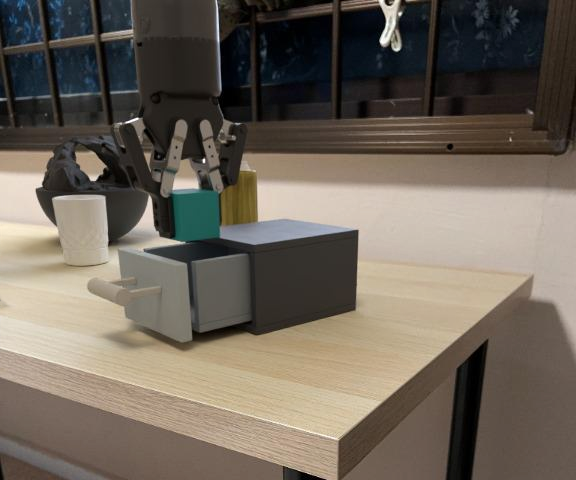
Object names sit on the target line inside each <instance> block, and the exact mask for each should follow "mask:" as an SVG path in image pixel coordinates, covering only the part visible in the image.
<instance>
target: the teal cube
mask: <svg viewBox="0 0 576 480" xmlns="http://www.w3.org/2000/svg"><path fill="white" fill-rule="evenodd" d="M170 198H173V204H174V218H175V231H176V236H175V238H166V239H167V240H171V241H176V242H180V243H185V242H188V241H196V240H203V239H211V238H219V237H220V221H219V199H218V191H212V190H203V189H199V188H195V187H194V188H178V189H172V194H171V196H170ZM158 235H159V236H158V237H160V238H163V239H165V238H164V237H161V236H160V234H159V233H158Z"/></svg>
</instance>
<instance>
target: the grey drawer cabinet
mask: <svg viewBox="0 0 576 480" xmlns="http://www.w3.org/2000/svg"><path fill="white" fill-rule="evenodd" d="M359 231H360V230H359V229H358V228H352V227H344V226H337V225H331V224H325V223H324V224H323V223H318V222H310V221H303V220H296V219H290V218H279V219H271V220H262V221H261V220H260V221H258V222H253V223H244V224H236V225H228V226H220V237H219V238H211V239H203V240H196V241H188V242H184V243H189V242H197V241H202V242H207V243H211V244H216V245H220V246H225V247H229V248H234V249H238V250H243V251H248V252H250V278H251V311H252V320H251V321H247V322H243V323H239V324H235V325H230V326H231V327H234V328H236V329H239V330H242V331H244V332H247V333H250V334H252V335H255V336H259V335H263V334H267V333H270V332H275V331H278V330H279V331H280V330H282V329H285V328H289V327H293V326H299V325H302V324H305V323H309V322H313V321H318V320H320V319H321V320H322V319H324V318H328V317H332V316H335V315H340V314H344V313H347V312H350V311H355V310H356V309H357V293H358V292H357V290H358V289H357V287H358V260H359V235H360V233H359Z"/></svg>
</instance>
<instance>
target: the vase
mask: <svg viewBox="0 0 576 480" xmlns="http://www.w3.org/2000/svg"><path fill="white" fill-rule="evenodd" d="M258 204H259V203H258V175H257V170H256V169H255V170H254V169H250V170H240V171H239V176H238V181H237V184H236V185H234V186H229V187H227V188H225V189H224V190H223V191H222V193H221V211H222V214H221V215H222V223H221V226H228V225H236V224H244V223H253V222H259V209H258V206H259V205H258Z"/></svg>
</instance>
